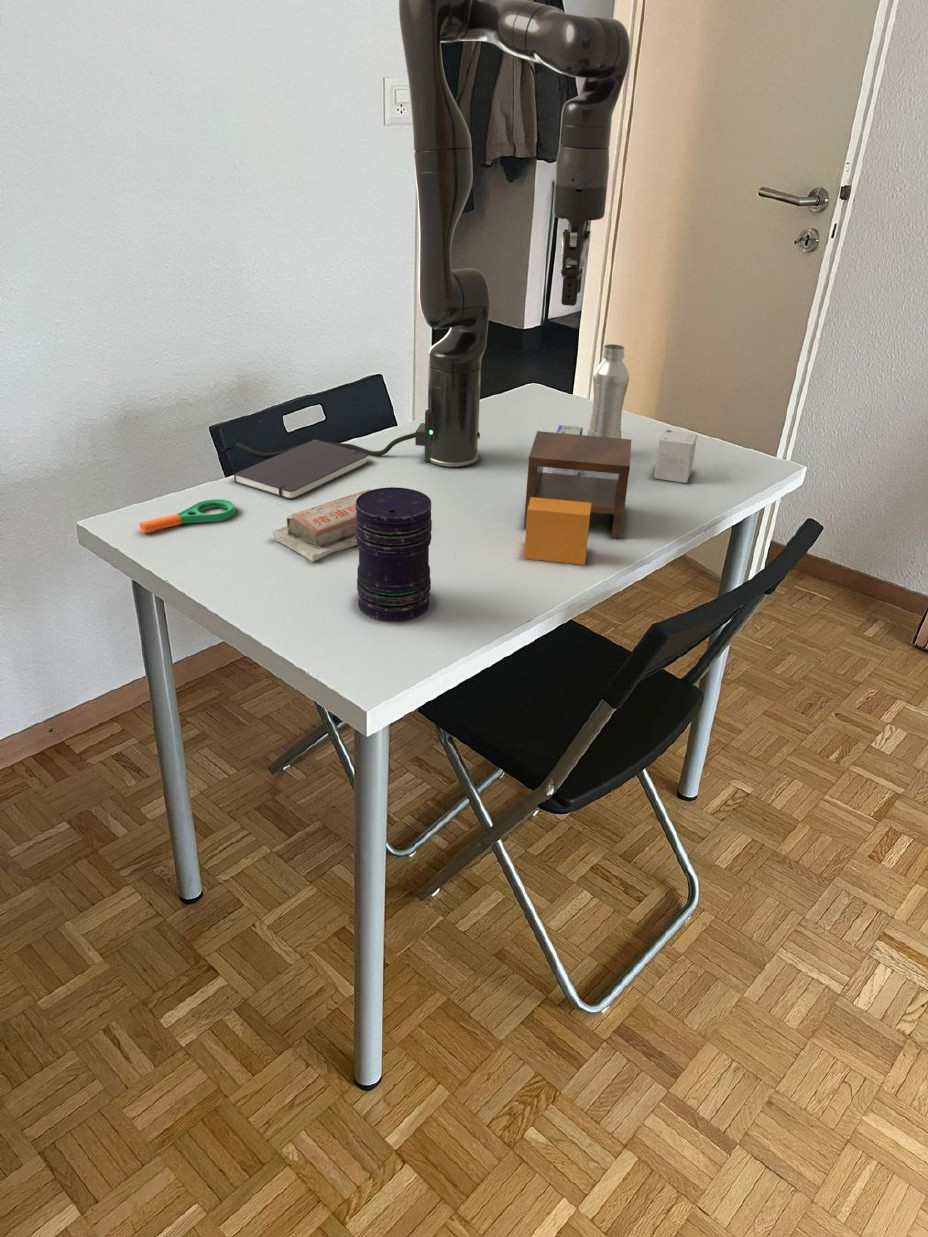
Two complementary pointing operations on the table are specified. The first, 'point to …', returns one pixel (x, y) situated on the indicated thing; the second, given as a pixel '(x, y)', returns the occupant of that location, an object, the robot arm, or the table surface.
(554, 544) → the packet
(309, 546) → the packaged product
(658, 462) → the product carton
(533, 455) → the wooden shelf
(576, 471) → the medicine box
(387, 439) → the table surface
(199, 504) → the magnifying glass
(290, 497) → the notebook
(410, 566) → the storage jar
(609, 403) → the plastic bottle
